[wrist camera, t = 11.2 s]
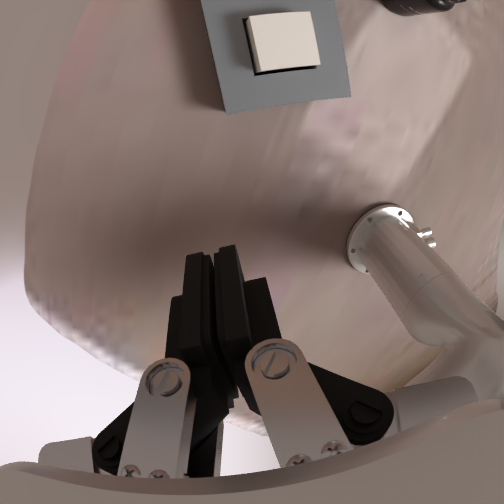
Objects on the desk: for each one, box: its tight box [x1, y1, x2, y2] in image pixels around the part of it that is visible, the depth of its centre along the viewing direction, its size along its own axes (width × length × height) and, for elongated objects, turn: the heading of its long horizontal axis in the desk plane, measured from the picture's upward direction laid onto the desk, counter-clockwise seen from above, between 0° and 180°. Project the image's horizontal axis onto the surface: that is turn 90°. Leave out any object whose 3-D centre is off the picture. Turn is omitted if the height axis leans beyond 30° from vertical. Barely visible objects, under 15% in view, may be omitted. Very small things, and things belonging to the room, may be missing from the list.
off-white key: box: [244, 11, 321, 73], centre depth 24 cm, size 6×6×5 cm
